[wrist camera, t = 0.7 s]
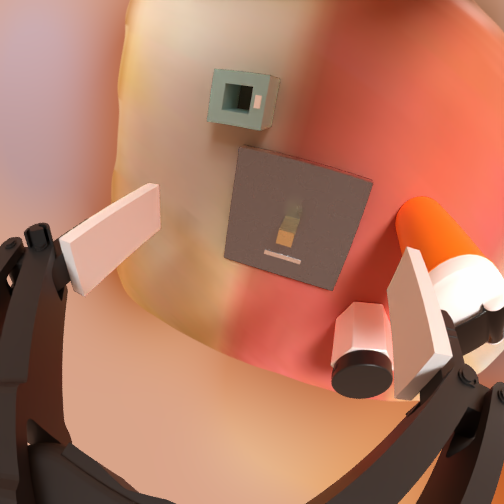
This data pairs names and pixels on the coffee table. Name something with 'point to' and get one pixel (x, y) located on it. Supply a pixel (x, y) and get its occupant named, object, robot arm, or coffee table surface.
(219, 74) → the teal open box
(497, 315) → the shaker bottle
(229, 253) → the hub plate
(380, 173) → the coffee table surface
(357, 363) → the jar
